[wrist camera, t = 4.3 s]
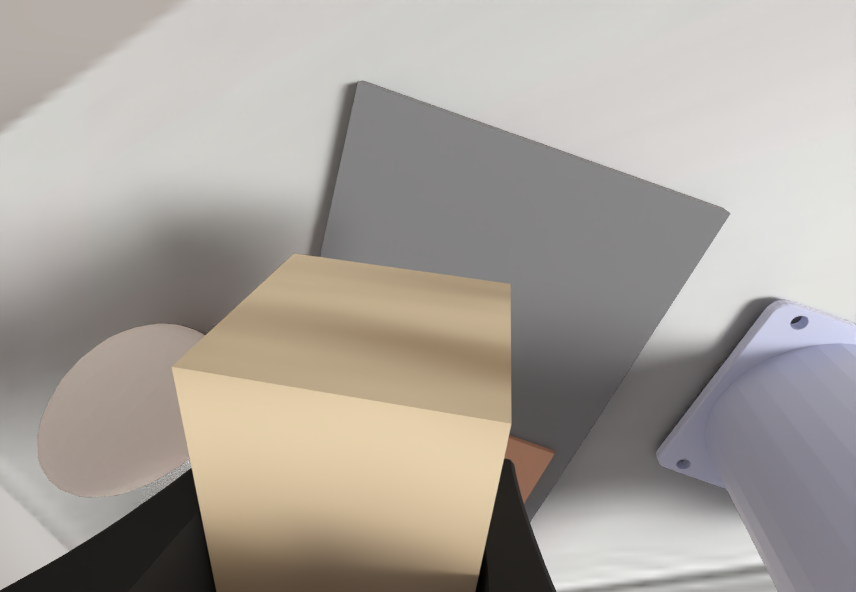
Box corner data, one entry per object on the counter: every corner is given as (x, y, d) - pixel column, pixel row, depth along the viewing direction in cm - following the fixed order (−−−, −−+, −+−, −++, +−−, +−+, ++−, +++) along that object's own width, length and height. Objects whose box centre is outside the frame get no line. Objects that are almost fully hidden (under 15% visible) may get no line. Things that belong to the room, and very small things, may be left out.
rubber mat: (722, 207, 15) (730, 213, 15) (494, 566, 24) (493, 578, 24) (363, 80, 15) (357, 81, 14) (272, 490, 24) (266, 499, 24)
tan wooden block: (293, 253, 10) (172, 366, 6) (510, 284, 9) (511, 423, 6) (308, 540, 14) (239, 706, 10) (458, 570, 13) (440, 753, 10)
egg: (269, 400, 22) (167, 548, 15) (164, 395, 23) (25, 533, 16) (241, 296, 19) (107, 418, 13) (126, 295, 20) (-55, 409, 14)
